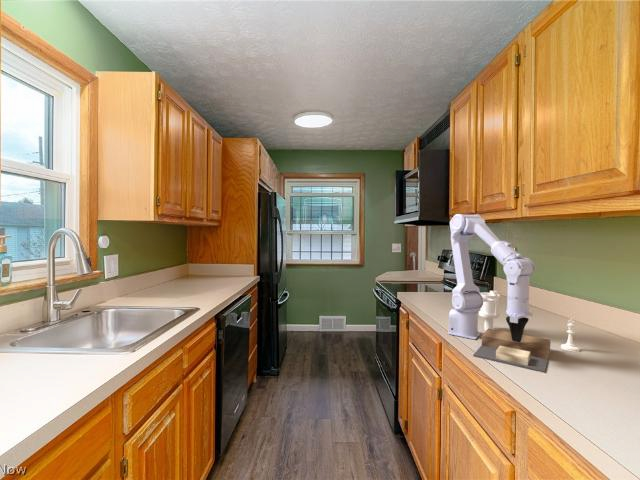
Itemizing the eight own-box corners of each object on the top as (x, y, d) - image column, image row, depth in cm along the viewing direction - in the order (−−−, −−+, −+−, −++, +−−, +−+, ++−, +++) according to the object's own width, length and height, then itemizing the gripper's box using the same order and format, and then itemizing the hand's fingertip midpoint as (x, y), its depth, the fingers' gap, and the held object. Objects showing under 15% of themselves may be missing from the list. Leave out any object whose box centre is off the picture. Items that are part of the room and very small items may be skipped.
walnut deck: (481, 346, 108) (481, 335, 108) (488, 338, 116) (488, 328, 116) (547, 360, 97) (548, 348, 97) (550, 350, 105) (550, 339, 104)
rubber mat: (473, 356, 99) (473, 354, 99) (481, 346, 108) (481, 345, 108) (544, 372, 88) (544, 371, 88) (547, 360, 96) (547, 359, 96)
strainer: (503, 331, 124) (504, 292, 123) (489, 333, 121) (490, 293, 121) (487, 326, 130) (488, 289, 130) (474, 328, 128) (475, 290, 127)
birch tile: (499, 345, 101) (499, 352, 101) (495, 351, 97) (495, 358, 97) (530, 351, 96) (530, 359, 96) (527, 357, 92) (527, 365, 92)
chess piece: (577, 353, 103) (578, 321, 102) (558, 348, 107) (559, 318, 106) (581, 349, 106) (582, 318, 106) (563, 345, 110) (564, 315, 109)
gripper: (530, 303, 92) (529, 350, 93) (535, 295, 104) (534, 337, 104) (502, 299, 97) (501, 345, 97) (510, 292, 108) (509, 333, 108)
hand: (516, 341), depth 101 cm, fingers closed
